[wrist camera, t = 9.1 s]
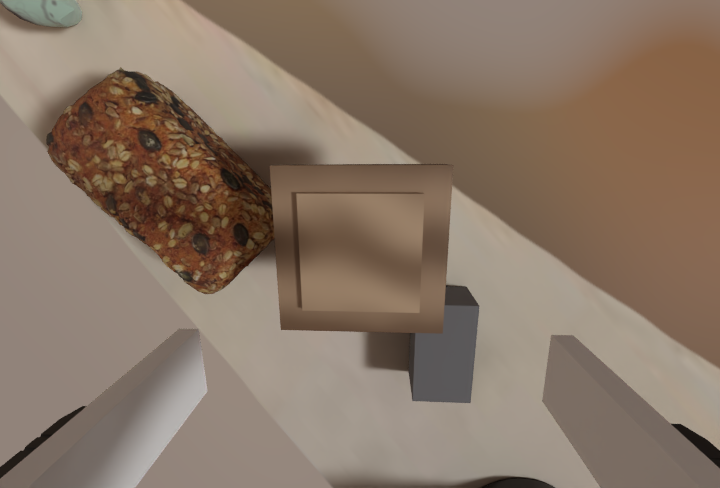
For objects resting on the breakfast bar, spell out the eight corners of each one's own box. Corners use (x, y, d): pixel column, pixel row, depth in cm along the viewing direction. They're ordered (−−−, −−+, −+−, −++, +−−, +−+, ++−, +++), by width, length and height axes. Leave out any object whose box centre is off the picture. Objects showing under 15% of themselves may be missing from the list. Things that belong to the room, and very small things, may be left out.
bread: (113, 153, 36) (15, 151, 26) (174, 78, 34) (92, 46, 24) (239, 276, 39) (193, 315, 29) (304, 214, 37) (277, 235, 27)
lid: (436, 315, 28) (443, 336, 24) (291, 311, 28) (279, 332, 25) (444, 164, 25) (454, 165, 21) (282, 164, 25) (267, 165, 22)
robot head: (120, 22, 33) (55, -11, 26) (102, 61, 34) (36, 37, 27) (45, -32, 32) (-41, -81, 25) (30, 9, 33) (-57, -28, 26)
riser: (459, 373, 40) (470, 402, 35) (408, 371, 40) (412, 400, 36) (466, 286, 37) (479, 306, 33) (411, 285, 38) (416, 304, 33)
